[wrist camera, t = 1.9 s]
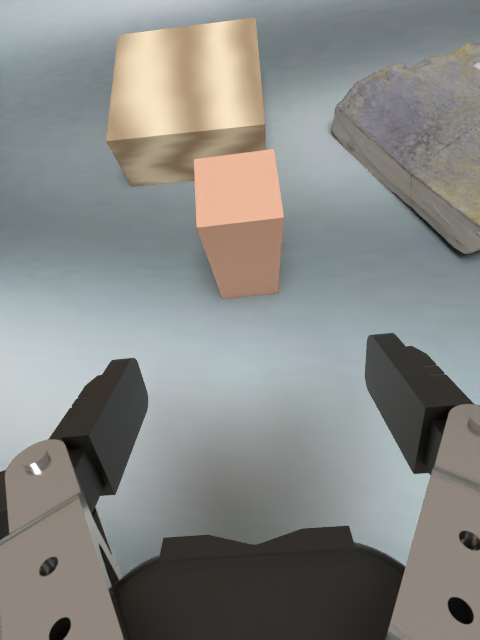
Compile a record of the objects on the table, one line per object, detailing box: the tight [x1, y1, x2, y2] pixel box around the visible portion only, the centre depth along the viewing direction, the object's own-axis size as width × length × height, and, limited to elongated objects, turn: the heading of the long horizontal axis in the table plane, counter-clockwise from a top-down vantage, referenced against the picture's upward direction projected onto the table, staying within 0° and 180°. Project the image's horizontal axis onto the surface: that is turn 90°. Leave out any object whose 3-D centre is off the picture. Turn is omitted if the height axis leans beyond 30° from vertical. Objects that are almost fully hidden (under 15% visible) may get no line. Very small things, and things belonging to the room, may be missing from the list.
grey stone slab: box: [332, 41, 480, 254], centre depth 31 cm, size 22×5×19 cm
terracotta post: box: [194, 149, 284, 299], centre depth 24 cm, size 5×5×11 cm
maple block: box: [106, 18, 265, 187], centre depth 33 cm, size 14×14×6 cm
